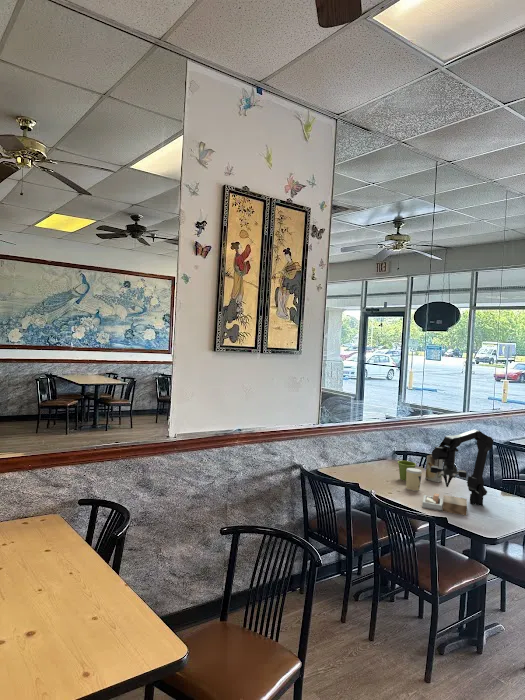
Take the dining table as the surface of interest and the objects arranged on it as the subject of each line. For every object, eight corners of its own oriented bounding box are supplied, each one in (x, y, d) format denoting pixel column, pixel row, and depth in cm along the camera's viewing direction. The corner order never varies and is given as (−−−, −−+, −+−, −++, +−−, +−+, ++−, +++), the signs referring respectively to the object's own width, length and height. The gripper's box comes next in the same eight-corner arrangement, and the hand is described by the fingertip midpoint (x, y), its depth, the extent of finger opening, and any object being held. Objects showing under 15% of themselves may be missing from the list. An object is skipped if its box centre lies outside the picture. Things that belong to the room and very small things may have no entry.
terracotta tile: (439, 494, 276) (434, 493, 277) (438, 496, 272) (433, 495, 273) (438, 502, 276) (433, 501, 278) (437, 505, 272) (432, 504, 273)
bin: (442, 503, 278) (442, 498, 278) (441, 511, 265) (441, 505, 264) (423, 500, 281) (424, 495, 281) (422, 507, 268) (422, 502, 268)
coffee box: (442, 481, 325) (444, 457, 325) (437, 482, 321) (439, 458, 321) (429, 477, 332) (431, 454, 332) (424, 479, 328) (426, 455, 327)
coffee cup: (421, 492, 297) (423, 472, 297) (405, 490, 299) (407, 470, 299) (419, 487, 306) (421, 468, 306) (404, 485, 308) (405, 466, 308)
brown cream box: (465, 507, 273) (466, 498, 273) (466, 515, 260) (467, 506, 260) (442, 503, 277) (443, 495, 277) (442, 511, 264) (443, 502, 264)
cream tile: (427, 496, 274) (425, 500, 274) (426, 499, 269) (424, 503, 270) (435, 500, 272) (434, 504, 273) (435, 503, 268) (433, 507, 268)
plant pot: (392, 478, 323) (394, 461, 323) (402, 476, 331) (403, 459, 331) (408, 483, 314) (409, 466, 314) (418, 480, 322) (419, 463, 322)
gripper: (431, 459, 269) (428, 487, 269) (467, 464, 262) (465, 493, 262) (431, 455, 279) (429, 482, 280) (467, 460, 272) (465, 488, 273)
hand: (447, 486), depth 273 cm, fingers closed
